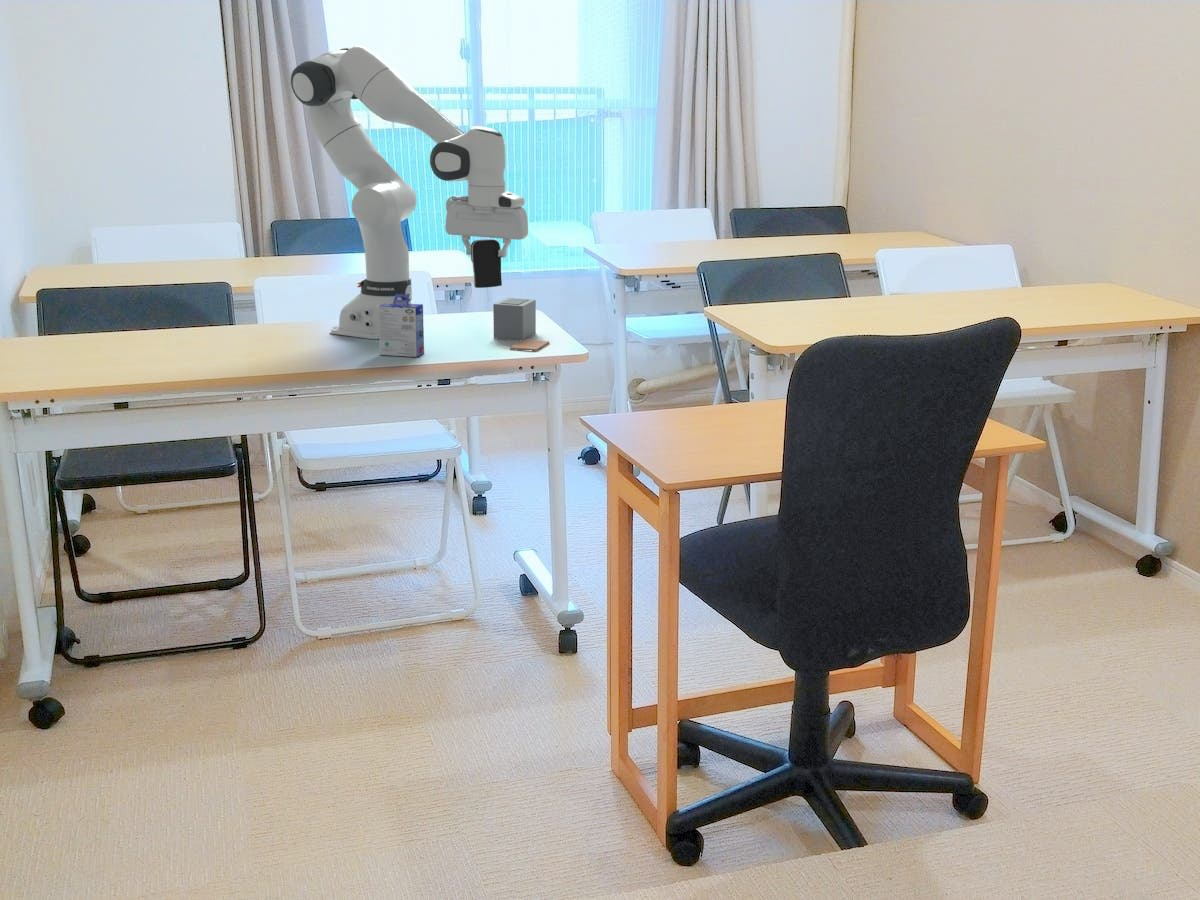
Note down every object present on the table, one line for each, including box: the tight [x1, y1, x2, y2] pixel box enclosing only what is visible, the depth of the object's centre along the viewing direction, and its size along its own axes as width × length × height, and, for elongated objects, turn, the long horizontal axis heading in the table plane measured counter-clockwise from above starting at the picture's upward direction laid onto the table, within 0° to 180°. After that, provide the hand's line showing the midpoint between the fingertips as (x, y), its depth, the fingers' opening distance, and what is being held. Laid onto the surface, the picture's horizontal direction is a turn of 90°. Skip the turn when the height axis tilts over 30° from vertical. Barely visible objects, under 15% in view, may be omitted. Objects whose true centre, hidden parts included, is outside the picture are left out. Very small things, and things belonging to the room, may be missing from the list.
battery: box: [470, 238, 503, 289], centre depth 286 cm, size 7×4×11 cm, turn 109°
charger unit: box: [492, 297, 537, 341], centre depth 308 cm, size 8×10×9 cm
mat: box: [509, 339, 550, 352], centre depth 297 cm, size 7×10×1 cm
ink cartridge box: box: [378, 294, 425, 358], centre depth 284 cm, size 10×6×14 cm, turn 79°
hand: (486, 255), depth 285 cm, fingers closed on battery, 7 cm apart
